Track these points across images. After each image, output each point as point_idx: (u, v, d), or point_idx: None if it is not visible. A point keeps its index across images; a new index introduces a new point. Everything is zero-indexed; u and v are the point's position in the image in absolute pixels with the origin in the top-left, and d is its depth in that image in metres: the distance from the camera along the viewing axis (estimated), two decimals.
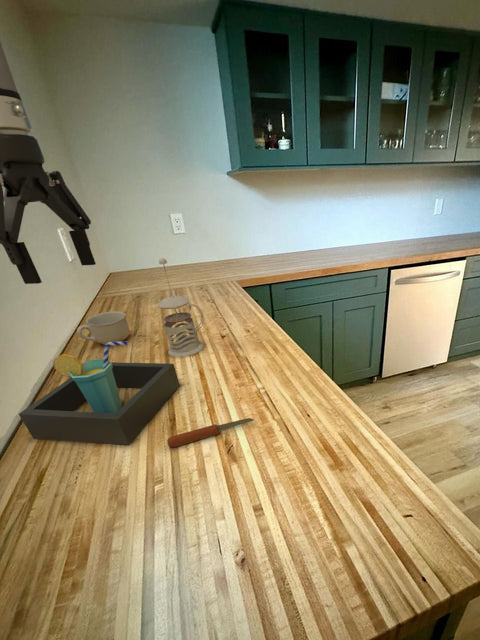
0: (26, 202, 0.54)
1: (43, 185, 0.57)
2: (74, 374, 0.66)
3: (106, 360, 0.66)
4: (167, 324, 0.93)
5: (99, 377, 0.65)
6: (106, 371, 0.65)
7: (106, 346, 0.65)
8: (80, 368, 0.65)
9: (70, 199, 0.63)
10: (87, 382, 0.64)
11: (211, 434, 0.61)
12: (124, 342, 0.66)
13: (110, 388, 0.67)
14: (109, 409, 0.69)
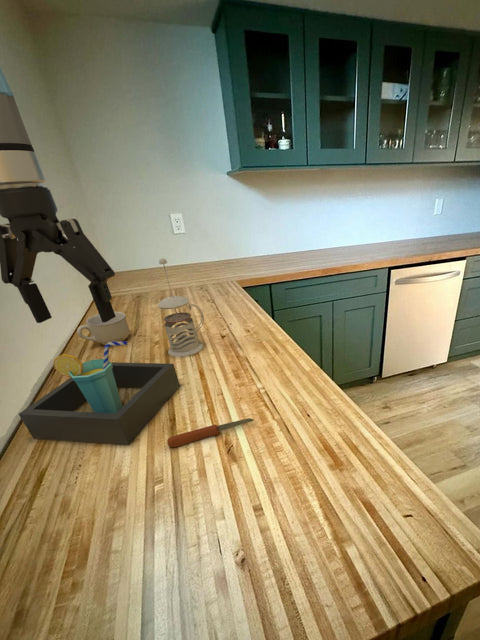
0: None
1: None
2: (74, 374, 0.66)
3: (106, 360, 0.66)
4: (167, 324, 0.93)
5: (99, 377, 0.65)
6: (106, 371, 0.65)
7: (106, 346, 0.65)
8: (80, 368, 0.65)
9: None
10: (87, 382, 0.64)
11: (211, 434, 0.61)
12: (124, 342, 0.66)
13: (110, 388, 0.67)
14: (109, 409, 0.69)
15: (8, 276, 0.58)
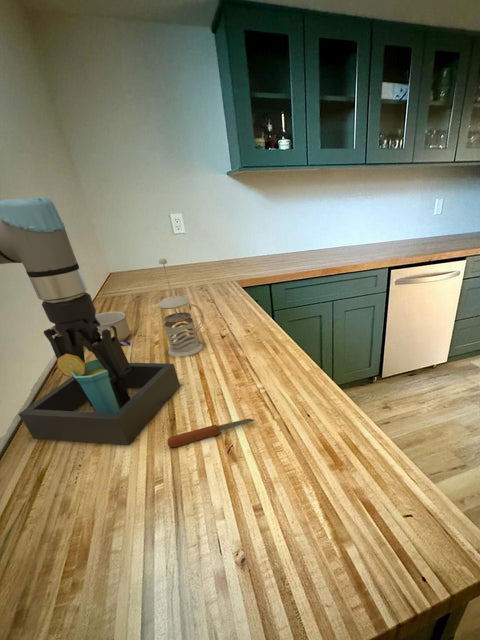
0: None
1: None
2: (77, 374, 0.66)
3: None
4: (167, 324, 0.93)
5: (102, 377, 0.64)
6: None
7: None
8: (83, 368, 0.65)
9: None
10: (90, 382, 0.64)
11: (211, 435, 0.61)
12: (127, 342, 0.66)
13: None
14: (111, 409, 0.68)
15: None
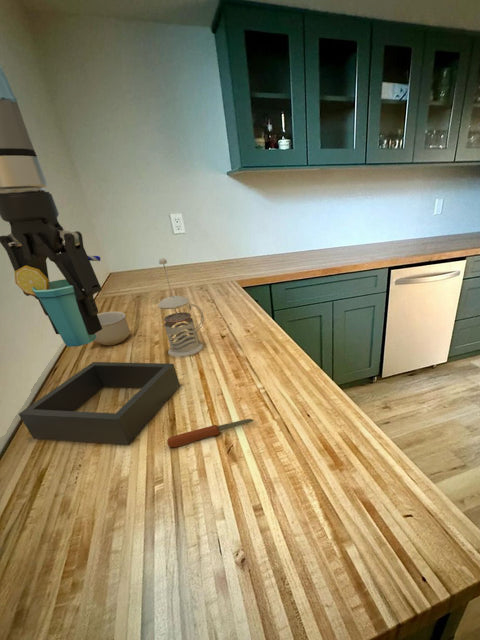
0: None
1: None
2: None
3: None
4: (167, 324, 0.93)
5: (66, 294, 0.56)
6: None
7: None
8: (45, 284, 0.57)
9: None
10: (52, 299, 0.56)
11: (211, 435, 0.61)
12: (96, 257, 0.58)
13: None
14: (79, 335, 0.60)
15: None
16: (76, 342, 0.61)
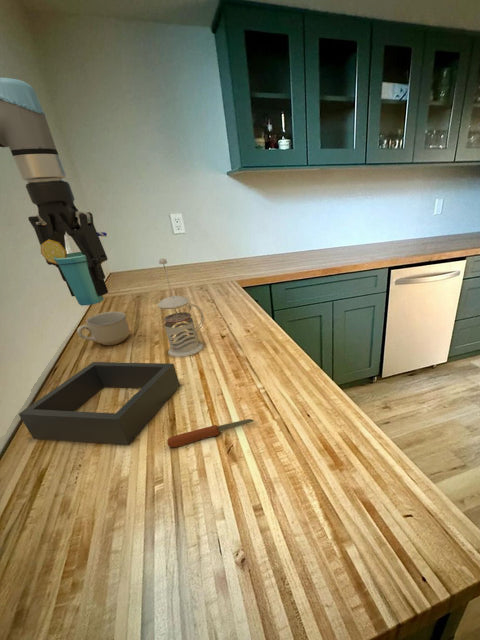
0: None
1: None
2: None
3: None
4: (167, 324, 0.93)
5: (80, 261, 0.72)
6: None
7: None
8: (64, 254, 0.73)
9: None
10: (69, 265, 0.72)
11: (211, 435, 0.61)
12: (103, 233, 0.74)
13: None
14: (90, 296, 0.76)
15: None
16: (88, 301, 0.77)
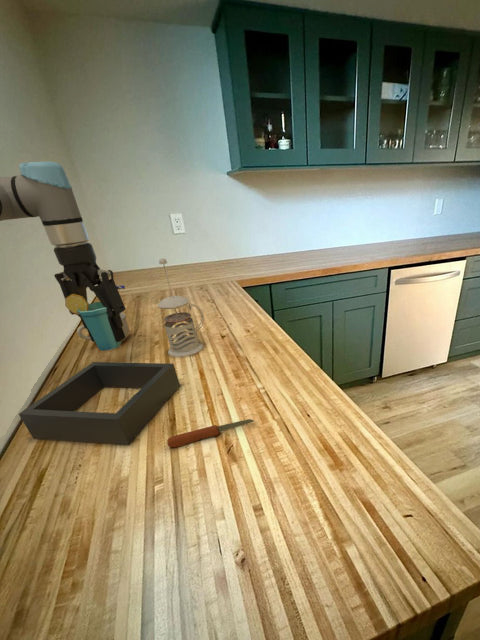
0: None
1: None
2: None
3: None
4: (167, 324, 0.93)
5: (101, 313, 0.80)
6: None
7: None
8: (86, 306, 0.80)
9: None
10: (92, 317, 0.79)
11: (211, 435, 0.61)
12: (122, 286, 0.81)
13: None
14: (109, 342, 0.84)
15: None
16: (107, 347, 0.84)
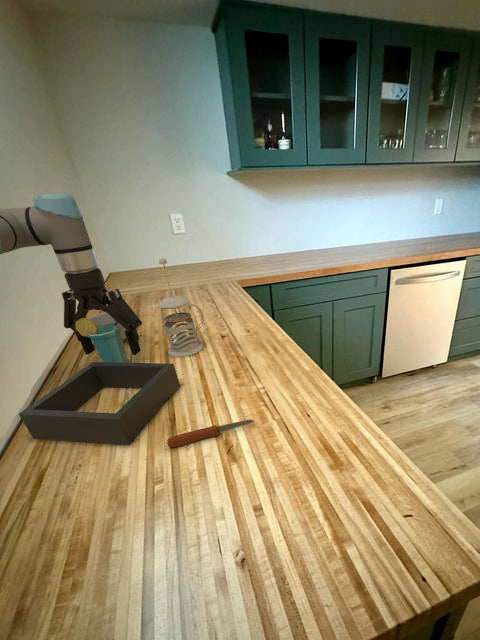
0: None
1: None
2: (91, 334, 0.84)
3: (116, 324, 0.84)
4: (167, 324, 0.93)
5: (110, 336, 0.83)
6: (115, 332, 0.83)
7: None
8: (95, 329, 0.83)
9: None
10: (101, 340, 0.82)
11: (211, 435, 0.61)
12: None
13: (119, 346, 0.85)
14: None
15: (68, 323, 0.84)
16: None
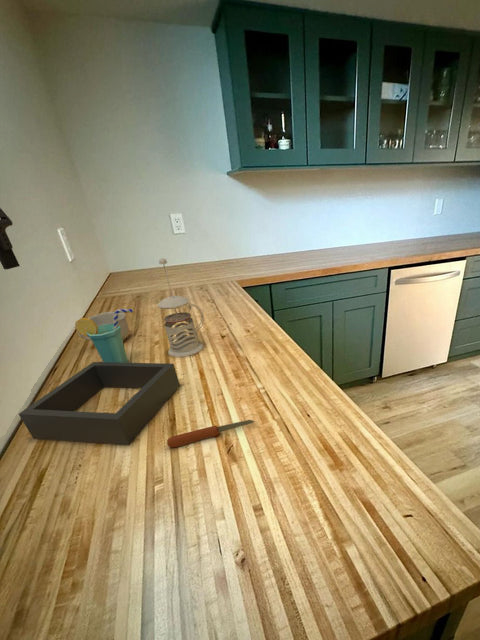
0: None
1: None
2: (91, 334, 0.84)
3: (116, 324, 0.84)
4: (167, 324, 0.93)
5: (110, 336, 0.83)
6: (116, 332, 0.83)
7: (116, 312, 0.83)
8: (95, 329, 0.83)
9: None
10: (101, 340, 0.82)
11: (211, 435, 0.61)
12: (130, 309, 0.84)
13: (119, 346, 0.85)
14: None
15: None
16: None
